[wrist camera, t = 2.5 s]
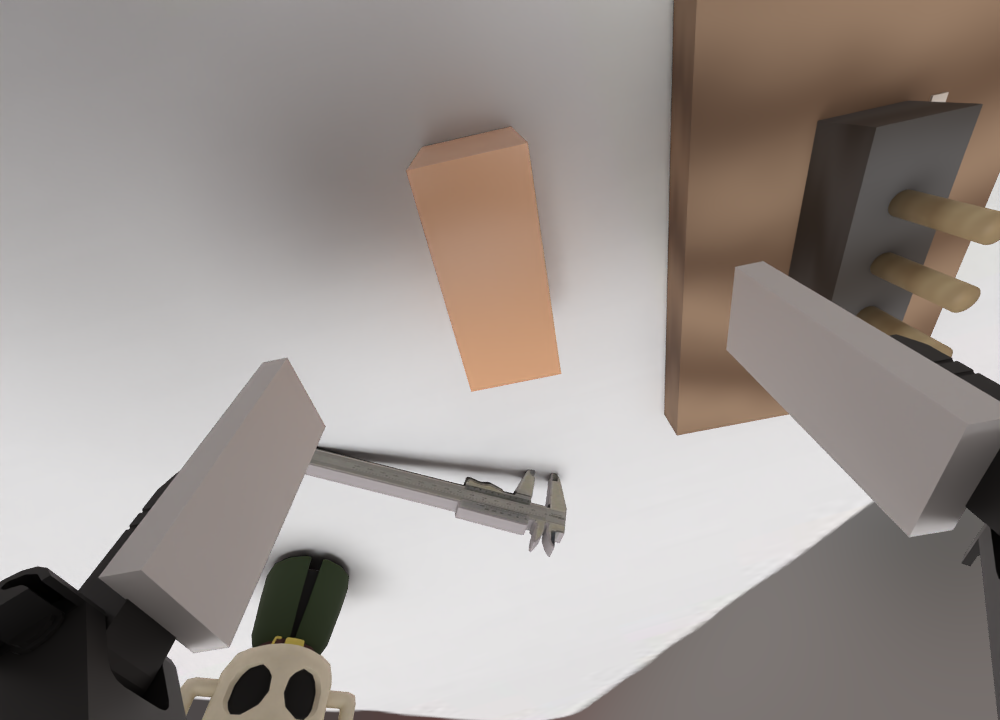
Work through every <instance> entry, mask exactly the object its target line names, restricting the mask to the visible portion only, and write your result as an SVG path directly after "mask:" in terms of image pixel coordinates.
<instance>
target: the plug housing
mask: <svg viewBox="0 0 1000 720" xmlns="http://www.w3.org/2000/svg"><path fill="white" fill-rule="evenodd" d="M406 172H407V176H408V179H409V182H410V186H411V189H412V193H413V196H414V199H415V203H416V206H417V210H418V213H419V216H420V220H421V223H422V226H423V230H424V233H425V237H426V240H427V243H428V247H429V250H430V253H431V257H432V260H433V264H434V267H435V270H436V274H437V277H438V281H439V284H440V287H441V291H442V294H443V297H444V301H445V304H446V308H447V311H448V314H449V318H450V321H451V324H452V328H453V331H454V335H455V338H456V341H457V345H458V348H459V351H460V355H461V358H462V362H463V365H464V368H465V372H466V375H467V379H468V382H469V385H470V389H471V392H472V391H477V390H482V389H487V388H493V387H498V386H503V385H508V384H513V383H518V382H523V381H528V380H533V379H538V378H543V377H548V376H553V375H558V374H561V370H560V363H559V356H558V349H557V342H556V335H555V328H554V321H553V314H552V307H551V300H550V293H549V287H548V280H547V273H546V266H545V259H544V252H543V245H542V238H541V231H540V224H539V217H538V210H537V203H536V196H535V189H534V182H533V175H532V168H531V161H530V155H529V148H528V143H527V142H526V141H525V140H524V139H523V138H522V137H521V136H520V135H519V134H518V133H517V132H516V131H515V130H514V129H513V128H512V127H506V128H502V129H498V130H493V131H489V132H485V133H480V134H476V135H472V136H467V137H463V138H459V139H454V140H450V141H445V142H441V143H437V144H432V145H428V146H424V147H422V148H421V149H420V151H419V152H418V154H417V155H416V156H415V158H414V159H413V161H412V162H411V164H410V165H409V167H408V168H407V170H406Z"/></svg>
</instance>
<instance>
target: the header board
mask: <svg viewBox="0 0 1000 720" xmlns="http://www.w3.org/2000/svg"><path fill="white" fill-rule="evenodd" d="M999 172H1000V0H674V21H673V65H672V108H671V152H670V195H669V239H668V282H667V326H666V370H665V413H664V415H665V416H666V418H667V420H668V421H669V423H670V425H671V426H672V428H673V430H674V431H675V433H676V435H682V434H687V433H692V432H697V431H703V430H708V429H713V428H719V427H724V426H729V425H735V424H740V423H745V422H750V421H756V420H761V419H766V418H772V417H777V416H782V415H788V414H789V413H788V412H787V411H786V410H785V409H784V408H783V407H782V406H781V405H780V404H779V403H778V402H777V401H776V400H775V399H774V398H773V397H772V396H771V395H770V394H769V393H768V392H767V391H766V390H765V389H764V388H763V387H762V386H761V385H760V384H759V383H758V382H757V381H756V379H755V378H754V377H753V376H752V375H751V374H750V373H749V372H748V371H747V370H746V369H745V368H744V367H743V366H742V365H741V364H740V363H739V362H738V361H737V360H736V359H735V358H734V357H733V356H732V355H731V354H730V353H729V352H728V351H727V350H726V349H727V339H728V330H729V320H730V311H731V302H732V292H733V283H734V273H735V267H737V266H742V265H747V264H752V263H757V262H762V261H764V262H765V263H767V264H769V265H770V266H772V267H774V268H775V269H777V270H779V271H781V272H782V273H784V274H786V275H787V276H789V277H791V278H792V279H794V280H796V281H797V282H799V283H801V284H802V285H804V286H806V287H808V288H809V289H811V290H813V291H814V292H816V293H818V294H819V295H821V296H823V297H824V298H826V299H828V300H829V301H831V302H833V303H835V304H836V305H838V306H840V307H841V308H843V309H845V310H846V311H848V312H850V313H851V314H853V315H855V316H857V317H858V318H860V319H862V320H863V321H865V322H867V323H868V324H870V325H872V326H873V327H875V328H877V329H878V330H880V331H882V332H884V333H885V334H887V335H895V334H897V335H900V336H904V337H907V338H910V339H913V340H916V341H919V342H922V343H925V344H928V345H930V346H931V347H933V348H935V349H937V350H939V351H940V352H942V353H944V354H946V355H948V356H949V357H951V356H952V354H953V351H952V349H951V348H950V347H948V346H946V345H944V344H942V343H940V342H939V341H937V340H935V339H933V338H931V337H930V336H931V334H932V331H933V329H934V327H935V324H936V322H937V319H938V317H939V315H940V312H941V310H942V308H945V309H947V310H949V311H951V312H954V313H957V312H962V311H964V310H966V309H968V308H970V307H971V306H972V305H973V304H974V303H975V302H976V301H977V300H978V298H979V296H980V289H979V288H978V287H976V286H973V285H971V284H968V283H966V282H963V281H961V280H958V279H956V278H955V277H956V274H957V272H958V270H959V267H960V265H961V263H962V260H963V258H964V255H965V253H966V251H967V248H968V246H969V244H970V241H973V242H977V243H980V244H983V245H990V244H993V243H995V242H997V241H999V240H1000V211H996V210H992V209H988V208H985V206H986V203H987V201H988V198H989V196H990V194H991V191H992V189H993V187H994V184H995V182H996V180H997V177H998V175H999Z"/></svg>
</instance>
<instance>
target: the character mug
mask: <svg viewBox="0 0 1000 720" xmlns="http://www.w3.org/2000/svg"><path fill="white" fill-rule="evenodd" d="M311 558H312V557H310V556H300V557H290V558H287V559H285V560H283V561H280V562H278V563H276V564H275V565H274V567H273V568H272V569H271V571H270V572H269V574H268V575H267V578H266V582H265V585H264V588H263V592H262V595H261V599H260V603H259V607H258V611H257V616H256V620H255V624H254V628H253V632H252V647H253V648H250V649H247V650H245V651H243V652H240V653H238V654H237V655H236V656H235V657H234V658H233V660H232V661H231V662H230V663H229V664H228V666H227V667H226V668H225V669H224V670H223V672H222V673H221V675H220V677H219V679H210V678H200V677H195V678H191V679H187V680H186V682H185V683H184V684H183V685H182V687H181V688H180V690H181V695H182V700H183V704H184V709H185V714H187V713H188V710H189V708H190V706H191V703H192V701H193V699H194V697H195V696H202V697H211V699H210V702H209V704H208V707H207V709H206V711H205V714H204V716H203V719H202V720H323V719H324V715H325V711H326V708H338V709H340V713H339V718H338V720H353V716H354V710H355V704H356V703H355V695H353V694H351V693H349V692H341V691H331V690H330V689H331V679H332V676H331V667H330V664H329V663H328V661H327V660H326V659H325V658H324V657H323V656H321V653H322V652H323V650H324V649H325V648H326V646H327V645H328V642H329V639H330V637H331V634H332V632H333V629H334V626H335V624H336V621H337V618H338V616H339V613H340V611H341V608H342V605H343V602H344V599H345V596H346V593H347V590H348V581H349V576H348V574H347V573H346V572H345V571H344V569H343V568H342V567H341V566H339V565H337V564H336V563H334V562H332V561H330V560H327V559H323V562H322V565H321V568H320V571H317V570H314V569H309V565H310V562H311Z"/></svg>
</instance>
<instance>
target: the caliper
mask: <svg viewBox="0 0 1000 720" xmlns="http://www.w3.org/2000/svg"><path fill="white" fill-rule="evenodd" d="M534 472H535V471H534V470H527V472H526V473H525V475H524V477H523V478H522V480H521V482H520V483H519V485H518V487H517V488H516V490H515V491H514V493H509V492H504V491H503V490H502V489H501V488H499V487H497V486H495V485H493V484H492V483H490V482H480V481H477V480H475V479H473V478H471V477H467V478H466V480H465V482H464V485H461V484H457V483H453V482H449V481H445V480H441V479H437V478H433V477H429V476H425V475H421V474H417V473H413V472H409V471H405V470H401V469H397V468H393V467H389V466H385V465H381V464H377V463H373V462H369V461H365V460H361V459H357V458H353V457H350V456H346V455H342V454H338V453H334V452H330V451H326V450H322V449H318V448H316V450H315V452H314V454H313V456H312V459H311V461H310V463H309V466H308V468H307V470H306V473H305V474H306V475H310V476H314V477H318V478H322V479H326V480H330V481H334V482H338V483H342V484H346V485H350V486H354V487H358V488H362V489H366V490H370V491H374V492H378V493H382V494H386V495H390V496H394V497H398V498H402V499H406V500H410V501H414V502H418V503H422V504H426V505H430V506H434V507H438V508H442V509H446V510H450V511H454V512H456V513H455V517H456V518H459V519H463V520H466V521H470V522H474V523H478V524H482V525H485V526H489V527H493V528H497V529H500V530H504V531H508V532H512V533H516V534H520V535H524V533H525V530H529V531H530V534H531V540H530V545H529V551H530V552H531V551H532V550H533V549H534V548H535V547H536V546H537V544H538V542H539V540H540V538H541V536H542V544H543V547H544V550H545V552H546V554H547V555H548V556H549V557H550V555H551V553H552V551H553V549H554V544H555V542H557V543H560V541H561V539H562V537H563V535H564V531H565V520H566V504H565V500H564V495H563V491H562V486H561V483H560V479H559V477H558V476H557V475H556V474H554V473H552V474H551V476H550V479H549V481H548V490H547V498H546V505H545V506H542V505H538V504H534V503H531V498H532V494H533V487H534V481H535V477H534Z"/></svg>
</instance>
